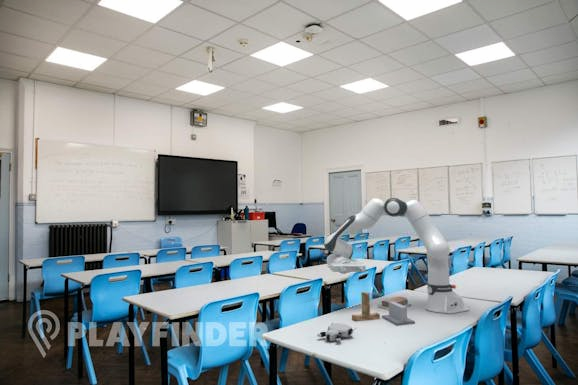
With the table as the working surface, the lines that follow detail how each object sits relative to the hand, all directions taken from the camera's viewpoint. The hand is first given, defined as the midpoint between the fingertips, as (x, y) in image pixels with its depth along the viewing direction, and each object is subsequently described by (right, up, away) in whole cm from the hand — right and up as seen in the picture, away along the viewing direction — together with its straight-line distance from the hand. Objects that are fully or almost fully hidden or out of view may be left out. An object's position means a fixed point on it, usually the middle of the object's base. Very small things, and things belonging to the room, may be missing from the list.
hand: (354, 270), depth 210 cm
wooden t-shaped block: (+4, -22, -13) cm, 26 cm away
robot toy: (-15, -21, -41) cm, 49 cm away
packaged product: (+25, -24, +12) cm, 36 cm away
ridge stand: (+19, -22, -16) cm, 33 cm away
